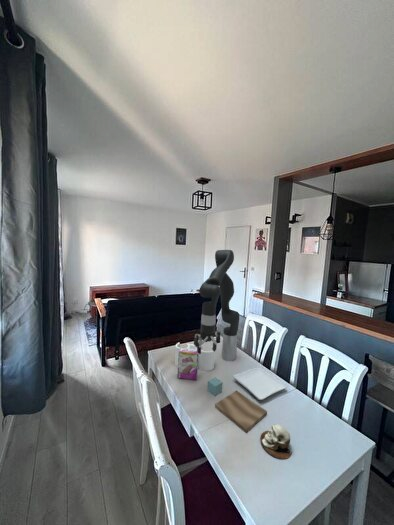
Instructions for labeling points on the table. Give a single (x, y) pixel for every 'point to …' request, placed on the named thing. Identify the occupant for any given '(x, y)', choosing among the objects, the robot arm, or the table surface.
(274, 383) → the salad plate
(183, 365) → the candy bar box
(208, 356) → the bracket
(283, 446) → the skull
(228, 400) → the walnut board
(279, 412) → the table surface
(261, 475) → the table surface
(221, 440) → the table surface
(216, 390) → the slate cube
